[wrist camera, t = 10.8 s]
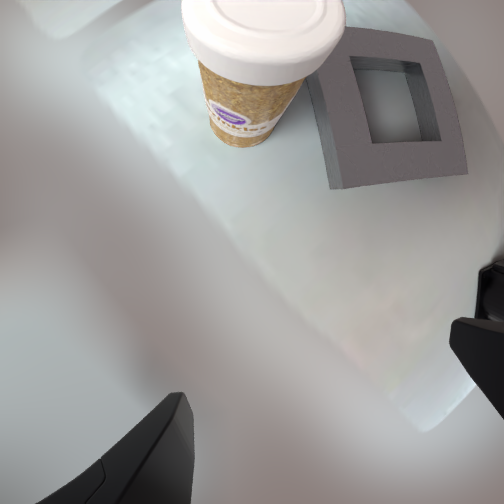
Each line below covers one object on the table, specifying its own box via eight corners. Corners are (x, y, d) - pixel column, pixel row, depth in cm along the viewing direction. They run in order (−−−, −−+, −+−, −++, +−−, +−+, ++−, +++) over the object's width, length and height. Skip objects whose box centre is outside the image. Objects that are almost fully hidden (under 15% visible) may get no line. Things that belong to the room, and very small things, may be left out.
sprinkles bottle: (203, 141, 18) (153, 45, 5) (218, 83, 18) (207, -57, 4) (268, 155, 19) (342, 83, 6) (282, 96, 18) (355, -26, 5)
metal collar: (449, 174, 20) (468, 173, 18) (329, 189, 20) (343, 189, 17) (417, 50, 18) (432, 40, 15) (295, 41, 17) (302, 25, 15)
